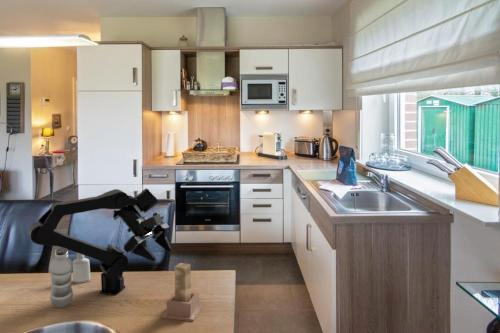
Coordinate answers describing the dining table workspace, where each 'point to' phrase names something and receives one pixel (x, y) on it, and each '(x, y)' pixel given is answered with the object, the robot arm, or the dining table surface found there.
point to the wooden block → (183, 282)
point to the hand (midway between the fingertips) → (163, 255)
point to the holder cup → (183, 308)
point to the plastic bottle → (61, 278)
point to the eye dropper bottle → (81, 269)
